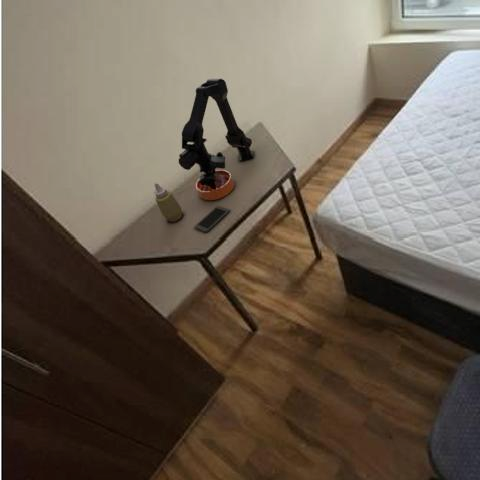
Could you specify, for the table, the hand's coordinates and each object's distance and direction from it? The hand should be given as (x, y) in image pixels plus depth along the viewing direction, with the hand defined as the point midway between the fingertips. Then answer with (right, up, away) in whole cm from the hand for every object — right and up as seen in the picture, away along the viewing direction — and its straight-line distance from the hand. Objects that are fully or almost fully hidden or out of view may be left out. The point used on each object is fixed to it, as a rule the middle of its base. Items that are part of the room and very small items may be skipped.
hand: (215, 185), depth 177 cm
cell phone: (+2, -16, -14) cm, 21 cm away
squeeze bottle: (-15, -15, -7) cm, 22 cm away
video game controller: (0, -1, +1) cm, 1 cm away
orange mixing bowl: (0, -2, +2) cm, 2 cm away
